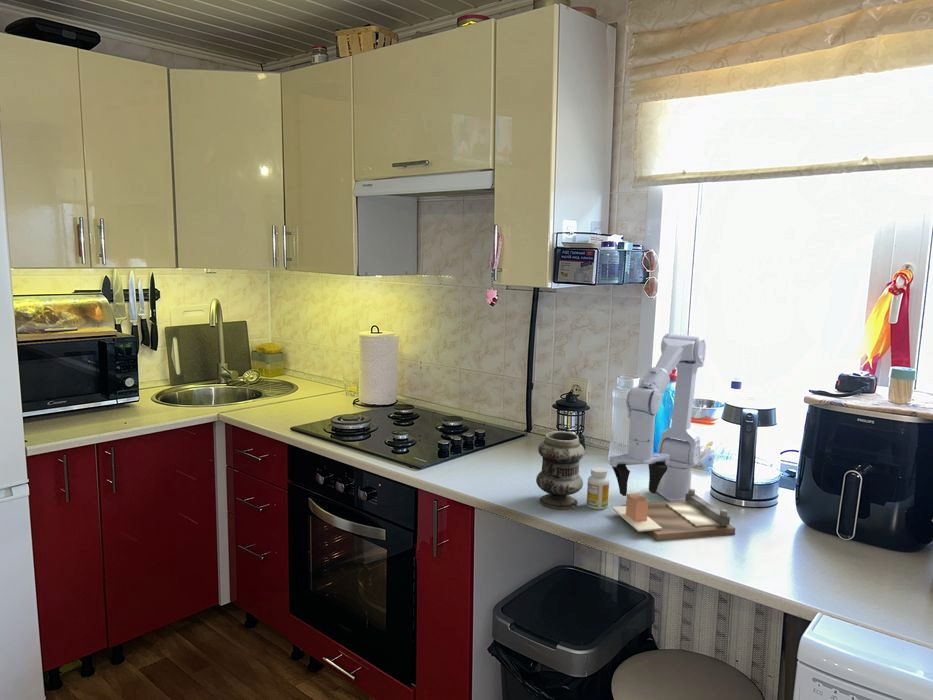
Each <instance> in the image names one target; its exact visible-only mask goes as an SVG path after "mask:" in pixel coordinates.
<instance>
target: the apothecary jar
mask: <svg viewBox="0 0 933 700" xmlns="http://www.w3.org/2000/svg"><path fill="white" fill-rule="evenodd" d="M537 450H538V454H539V455H540V456H541V458H542V462H541V463H542V464H541V471H540V472H539V473H537V476H536V478H535V479H536V480H535V481H536V485H537V486H538V488H539V489H540V490H542V491H543V492H545V493H547V494H543V495H542V496H541V497H539V502H540V504H541V505H542V506H544V507H547V508H551V509H556V510H568V509H573V508H574V507H576V506H578V500H577V499H576V498H574V497H572V496H571V495H574V494H576V493H578V492H580V491H581V489H582V488H583V485H584V481H583V478H582V476H581V475H580V474H579V473H580V472H579V471H580V469H579V468H580V460H581V459H582V458H583V457H584V456H585V454H586V453H585V448H584V446H583V445H582V443H580V438H579V435H578V434H576V433H573V432H569V431H562V430H554V431H550V432H547V433H546V434H545V437H544V440H542V441H541V443H540V444H539V445H538V449H537Z"/></svg>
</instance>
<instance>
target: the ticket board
mask: <svg viewBox="0 0 933 700" xmlns="http://www.w3.org/2000/svg"><path fill="white" fill-rule="evenodd" d="M621 506H626V504H622V505H621ZM728 513H729V512H728V510H727V509H719V508H717V507H716V506H714V505H713V504H711V503H710V502H708V501H707V500H705V499H703V498H701V497H700V496H699V495H697V494H696V490H695V489H694V488H690V489H688V493H686V497H685V501H660V502H657V501H656V502H648V512H647V516H648V517H649V518H650V519H652V520H653V521H654V522H655V523H657V524H658V525H659V526H660V527H662V530H651V531H645V532H647V533H648V534H649V535H650V536H651V537H652V538H654V539H655V540H656V541H658V542H659V541H669V540H679V539H681V540H682V539H693V538H695V539H696V538H705V537H706V538H707V537H715V536H716V537H717V536H730V535H736V527H734V526H733V525H731V523H730V520H731V517H730V516H729V514H728Z"/></svg>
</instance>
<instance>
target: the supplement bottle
mask: <svg viewBox="0 0 933 700" xmlns="http://www.w3.org/2000/svg"><path fill="white" fill-rule="evenodd" d="M607 475H608V471H607V469H606V468H604V467H599V466H597V467H594V466H593V467H592V468H591V469H590V476H589V477H588V478H587V485H586V487H587V488H586V489H587V490H586V506H587V507H588V508H590V509H592V510H604V509H607V508H608V505H609V493H610V491H609V490H610V480H609V478H608V477H607Z"/></svg>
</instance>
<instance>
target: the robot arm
mask: <svg viewBox="0 0 933 700" xmlns="http://www.w3.org/2000/svg"><path fill="white" fill-rule="evenodd" d="M660 343H661V344H660V350H661V351H660V352H661V355H660V357H659V359H658V361H657V363H656V366H654V367H650V368H649V369H648V370H647V371H646V372H645V375H644V376H643V377H642V379H641V381H640V382H639V384H638V385H637V386H635V387H633V388H630V389H629V391H628V393H627V394H626V395H627V396H626V399H625V401H626V402H625V406H626V409H627V418H629V427H628V441H627V443H628V444H627V453H624V454H618V455H614V456H613V455H612V456H609V463H608V464H609V465H610V466H611V467H612V470H613V472H614V474H615V478H616V481H617V485H618V490H619V494H620V495H621V496H622V497H627V494H628V493H627V492H628V482H629V481H628V480H629V476H630V474H631V470H629V469H628V467H627V466H633V465H647V466H648V472H649V473H648V475H649V478H648V480H649V481H648V491H649V492H650V493H652V494H653V495H655V494H656V493H657V494H658V495H660V496H662V497H663V498H664V499H666V500H667V502H671V501H685V497H686V493H688V489H691V487H692V485H691V483H692V473H693V472H692V471H693V467H695V466H696V465H697V464H698V463H699V460H700V457H701V447H700V446H701V445H700V443H701V438H700V437H699V436H698V435H697V434H696V433H695V432H694V431H693V430H692V429H691V423H692V416H693V407H694V406H693V404H694V396H695V387H696V378H697V372H698V369H699V368H702V367H704V363H705V360H706V359H705V358H706V349H707V348H706V347H707V345H706V341H705V339H704V337H703V336H701V335H699V336H698V335H697V336H695V335H688V334H678V333H675V334H674V333H670V332H667V333H665V335H663V337H662V339H661V342H660ZM675 368H676V370H677V371H676V376H675V377H676V379H675V389H674V395H673V396H674V398H673V407H672V413H671V415H672V416H671V423H670V424H671V425H670V427H669V428H667V429H666V430H664V431H662V432H661V434H660V439H659V442H658V445H657V452H654V439H655V437H654V436H655V426H656V425H655V423H656V422H655V421H656V414H657V413H658V411H659V410H660V406H661V402H662V401H663V394H664V392H665V391H666V388H667V387H668V385H669V384H670V381H671V378H670V374H671V373H672V371H673V370H674V369H675Z"/></svg>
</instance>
